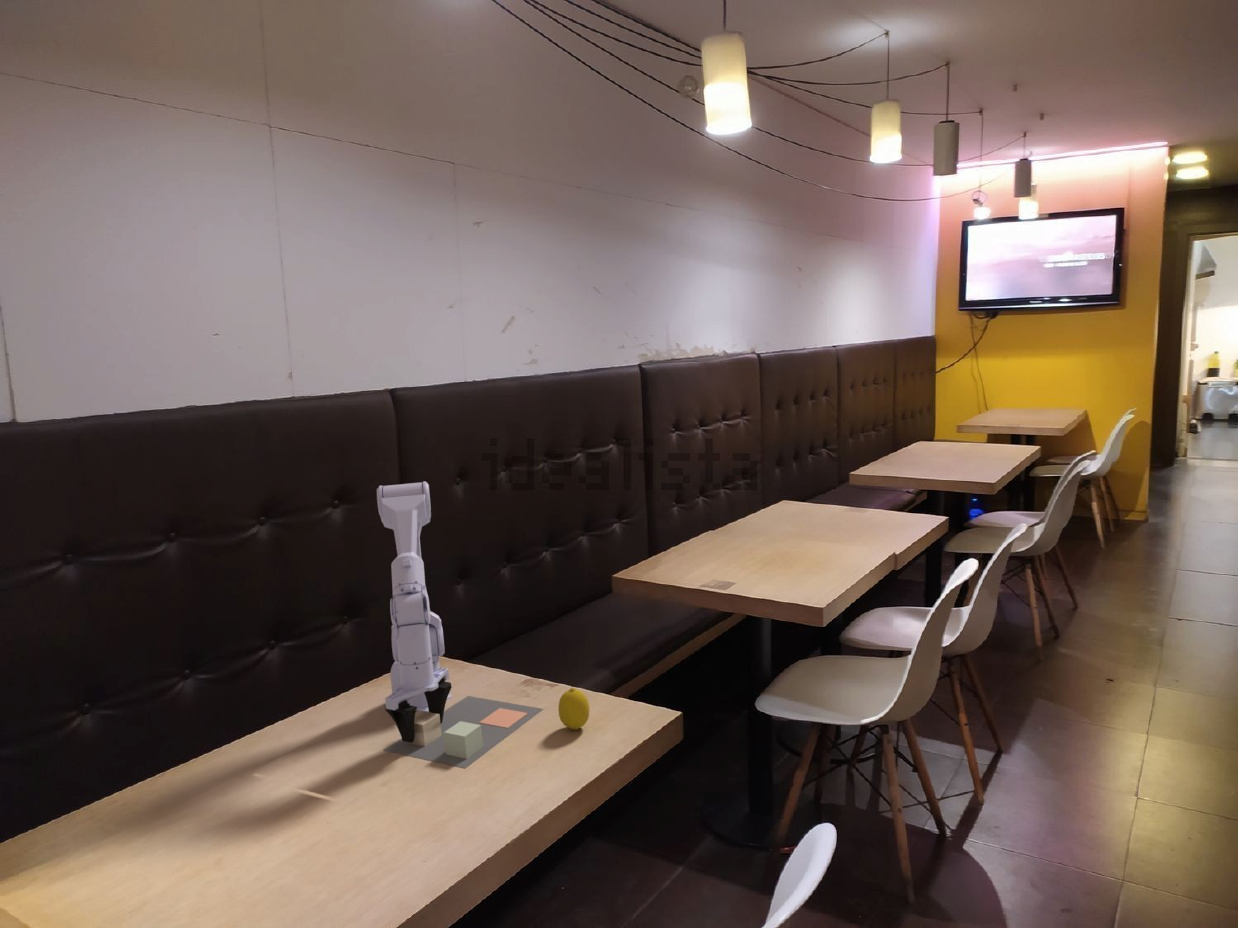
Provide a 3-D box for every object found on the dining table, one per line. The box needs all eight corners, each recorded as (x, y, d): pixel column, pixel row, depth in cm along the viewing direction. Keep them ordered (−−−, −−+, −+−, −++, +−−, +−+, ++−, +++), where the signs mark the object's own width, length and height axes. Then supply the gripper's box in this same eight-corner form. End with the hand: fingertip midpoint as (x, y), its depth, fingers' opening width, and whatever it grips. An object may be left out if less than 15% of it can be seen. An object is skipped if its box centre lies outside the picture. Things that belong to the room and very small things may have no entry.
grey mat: (383, 752, 146) (383, 749, 146) (468, 697, 167) (467, 695, 167) (465, 770, 138) (465, 767, 138) (543, 710, 159) (543, 708, 159)
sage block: (446, 754, 143) (443, 732, 143) (462, 742, 147) (460, 721, 147) (467, 758, 141) (464, 736, 141) (483, 746, 145) (481, 725, 145)
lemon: (555, 728, 151) (552, 686, 150) (583, 720, 154) (580, 679, 153) (566, 740, 146) (563, 697, 145) (595, 732, 149) (592, 689, 148)
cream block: (405, 742, 149) (403, 720, 148) (422, 731, 153) (420, 710, 152) (425, 746, 147) (422, 724, 146) (441, 735, 151) (439, 714, 150)
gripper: (404, 677, 140) (412, 753, 141) (459, 647, 152) (465, 717, 154) (373, 671, 143) (381, 746, 145) (429, 643, 155) (436, 712, 157)
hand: (422, 731), depth 150 cm, fingers open, 7 cm apart
